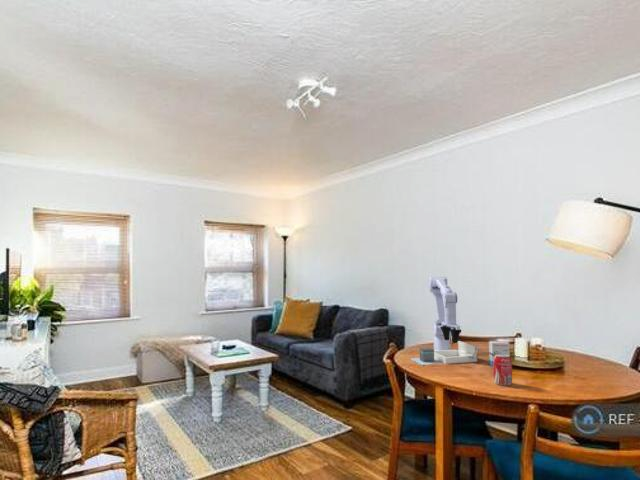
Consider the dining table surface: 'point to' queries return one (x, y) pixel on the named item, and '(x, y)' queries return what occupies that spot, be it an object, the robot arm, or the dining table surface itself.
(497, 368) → the soda can
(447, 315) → the robot arm
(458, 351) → the case
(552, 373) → the dining table surface
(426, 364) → the mat
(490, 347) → the ink box
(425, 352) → the block
